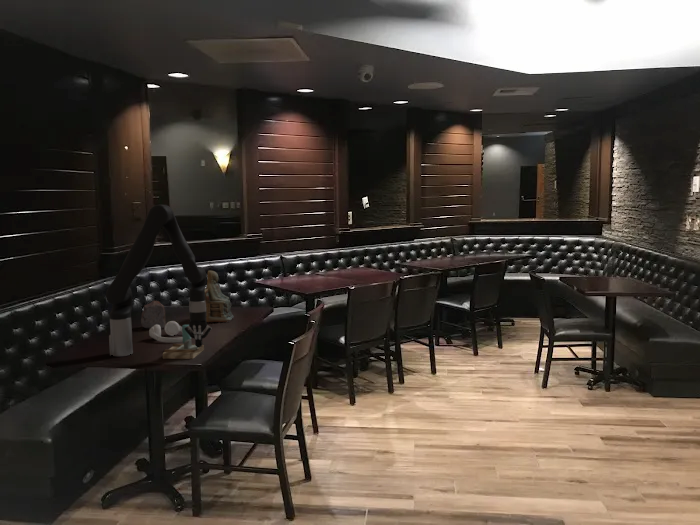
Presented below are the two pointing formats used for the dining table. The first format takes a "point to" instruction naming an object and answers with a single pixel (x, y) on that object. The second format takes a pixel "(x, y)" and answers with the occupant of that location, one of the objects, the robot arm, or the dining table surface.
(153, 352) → the dining table surface
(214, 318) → the sculpture
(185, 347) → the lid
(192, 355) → the board
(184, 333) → the peg
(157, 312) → the rock
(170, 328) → the headphones
